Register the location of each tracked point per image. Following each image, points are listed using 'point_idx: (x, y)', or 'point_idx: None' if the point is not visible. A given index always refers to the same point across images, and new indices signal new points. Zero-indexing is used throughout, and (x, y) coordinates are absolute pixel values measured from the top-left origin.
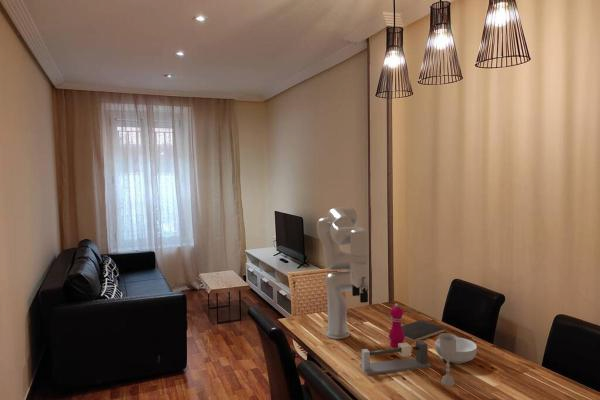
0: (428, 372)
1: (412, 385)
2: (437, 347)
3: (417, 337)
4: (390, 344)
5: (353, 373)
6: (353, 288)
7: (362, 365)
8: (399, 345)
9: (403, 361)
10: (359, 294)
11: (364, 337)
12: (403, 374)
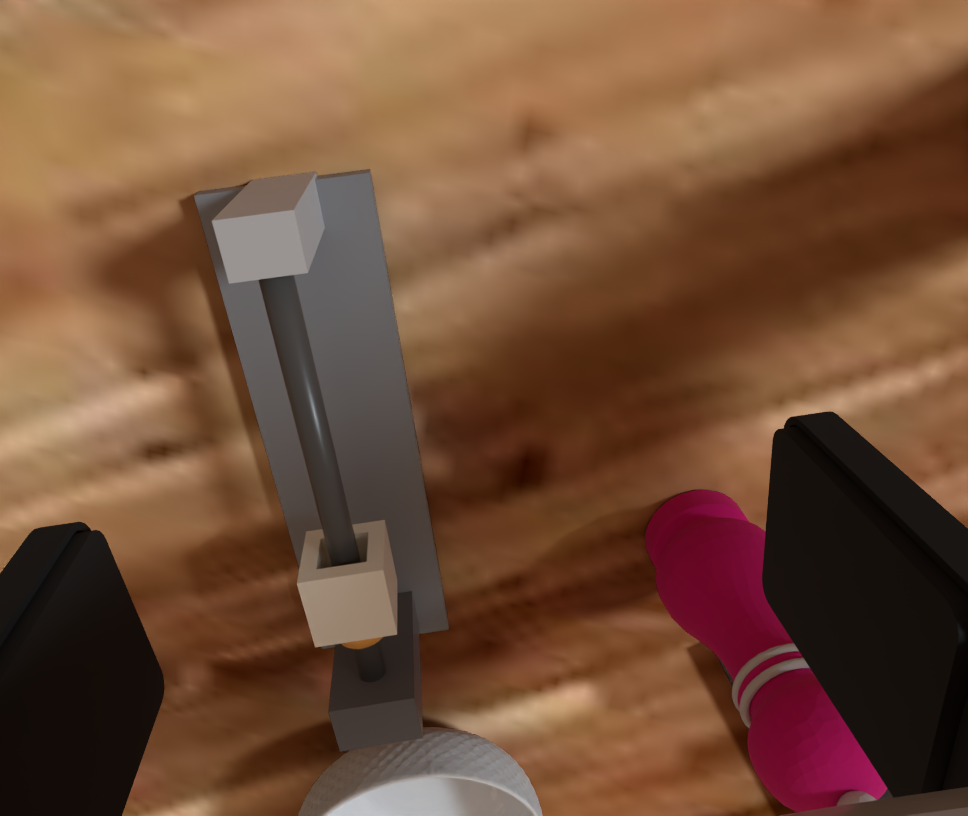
0: (251, 609)
1: (53, 477)
2: (404, 768)
3: (731, 680)
4: (702, 494)
5: (235, 72)
6: (925, 598)
7: (292, 181)
8: (355, 569)
9: (388, 511)
10: (771, 607)
11: (921, 335)
12: (220, 462)
